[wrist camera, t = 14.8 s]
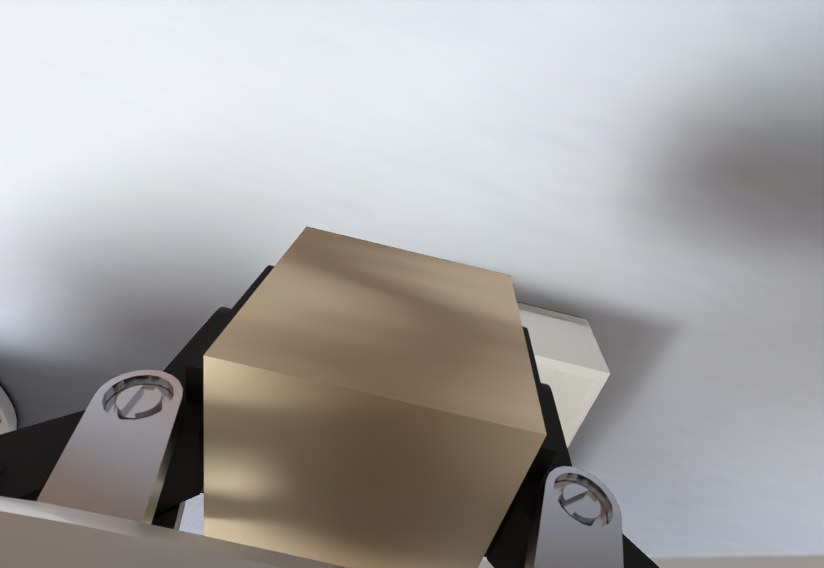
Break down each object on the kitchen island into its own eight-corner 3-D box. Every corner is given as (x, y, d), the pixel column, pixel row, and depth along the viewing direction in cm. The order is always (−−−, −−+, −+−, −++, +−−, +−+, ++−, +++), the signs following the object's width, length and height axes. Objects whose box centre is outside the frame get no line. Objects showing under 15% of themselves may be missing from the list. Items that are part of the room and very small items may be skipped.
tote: (334, 457, 36) (316, 516, 31) (374, 266, 27) (356, 311, 23) (497, 496, 36) (502, 560, 31) (587, 319, 27) (610, 373, 23)
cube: (288, 383, 13) (204, 556, 9) (306, 226, 11) (203, 355, 6) (456, 422, 13) (455, 610, 9) (510, 275, 11) (546, 435, 7)
